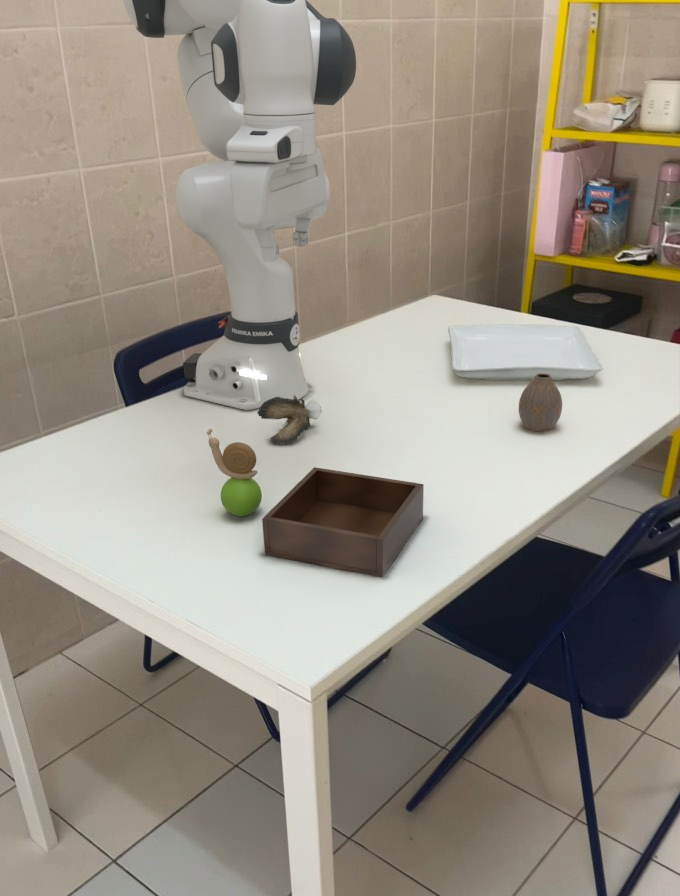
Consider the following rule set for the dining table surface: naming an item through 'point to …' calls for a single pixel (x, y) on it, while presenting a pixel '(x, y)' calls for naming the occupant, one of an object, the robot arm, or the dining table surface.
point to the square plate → (521, 352)
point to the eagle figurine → (290, 417)
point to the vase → (540, 404)
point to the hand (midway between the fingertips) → (286, 252)
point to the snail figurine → (237, 477)
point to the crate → (344, 521)
